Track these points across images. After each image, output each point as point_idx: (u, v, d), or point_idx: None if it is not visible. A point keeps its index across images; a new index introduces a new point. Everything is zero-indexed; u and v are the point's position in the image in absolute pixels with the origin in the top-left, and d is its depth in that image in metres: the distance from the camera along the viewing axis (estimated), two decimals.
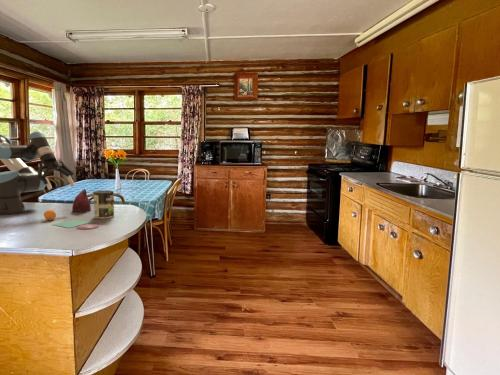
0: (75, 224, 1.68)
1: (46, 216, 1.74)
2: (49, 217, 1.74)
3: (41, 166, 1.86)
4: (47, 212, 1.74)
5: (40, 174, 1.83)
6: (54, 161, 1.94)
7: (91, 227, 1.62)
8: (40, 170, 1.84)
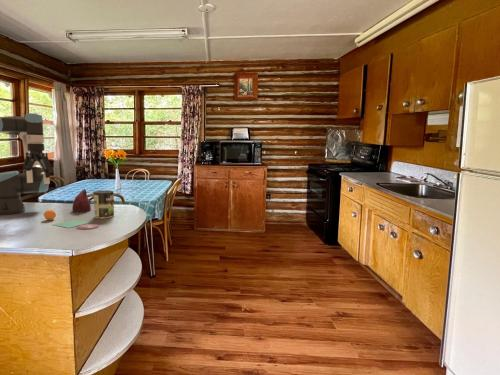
0: (75, 224, 1.68)
1: (46, 216, 1.74)
2: (49, 217, 1.74)
3: (26, 157, 1.79)
4: (47, 212, 1.74)
5: (23, 166, 1.81)
6: (36, 152, 1.75)
7: (91, 227, 1.62)
8: (24, 161, 1.80)
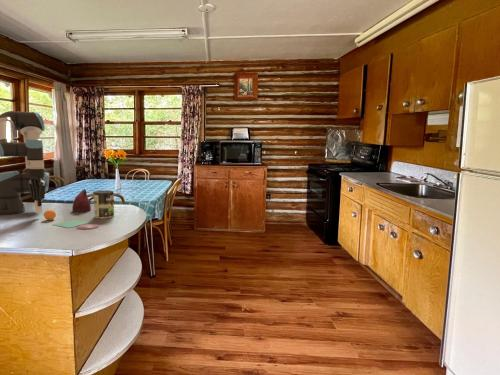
0: (75, 224, 1.68)
1: (46, 216, 1.74)
2: (49, 217, 1.74)
3: (29, 185, 1.79)
4: (47, 212, 1.74)
5: (31, 195, 1.79)
6: (36, 177, 1.76)
7: (91, 227, 1.62)
8: (30, 190, 1.79)
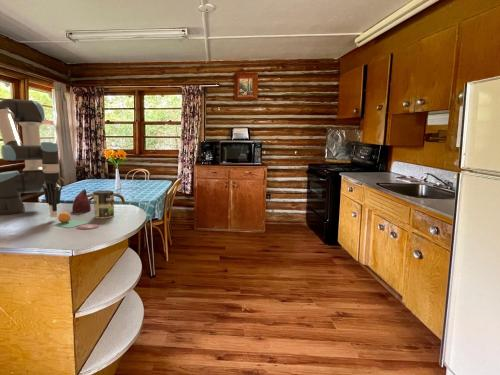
0: (75, 224, 1.68)
1: (59, 216, 1.69)
2: (60, 213, 1.70)
3: (44, 189, 1.74)
4: None
5: (46, 200, 1.74)
6: (52, 181, 1.71)
7: (91, 227, 1.62)
8: None
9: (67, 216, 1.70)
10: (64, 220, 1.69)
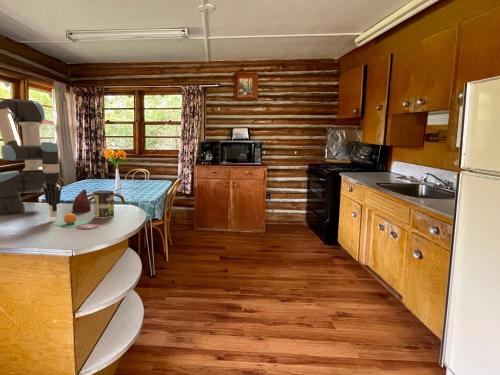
0: (75, 224, 1.68)
1: (66, 219, 1.66)
2: (70, 219, 1.67)
3: (44, 189, 1.74)
4: (66, 215, 1.67)
5: (46, 200, 1.74)
6: (52, 181, 1.71)
7: (91, 227, 1.62)
8: None
9: (71, 223, 1.69)
10: None
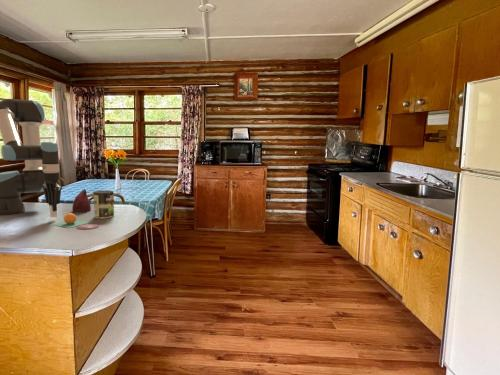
0: (75, 224, 1.68)
1: (66, 219, 1.66)
2: (70, 219, 1.67)
3: (44, 189, 1.74)
4: (66, 215, 1.67)
5: (46, 200, 1.74)
6: (52, 181, 1.71)
7: (91, 227, 1.62)
8: None
9: (71, 223, 1.69)
10: None
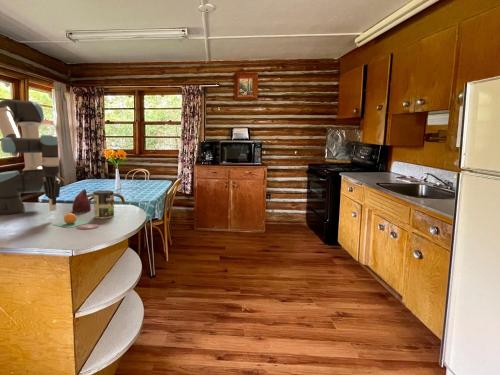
0: (75, 224, 1.68)
1: (66, 219, 1.66)
2: (70, 219, 1.67)
3: (43, 182, 1.74)
4: (66, 215, 1.67)
5: (45, 193, 1.74)
6: (51, 174, 1.70)
7: (91, 227, 1.62)
8: (44, 188, 1.74)
9: (71, 223, 1.69)
10: None
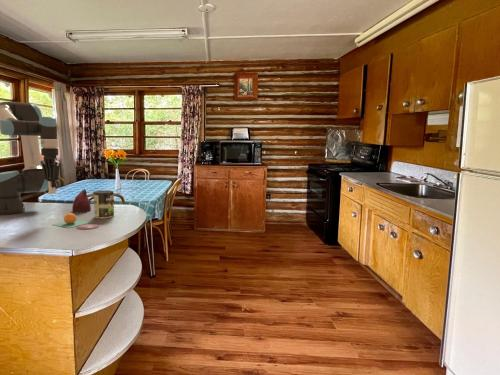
0: (75, 224, 1.68)
1: (66, 219, 1.66)
2: (70, 219, 1.67)
3: (42, 165, 1.72)
4: (66, 215, 1.67)
5: (44, 176, 1.73)
6: (50, 157, 1.69)
7: (91, 227, 1.62)
8: (43, 171, 1.73)
9: (71, 223, 1.69)
10: None
